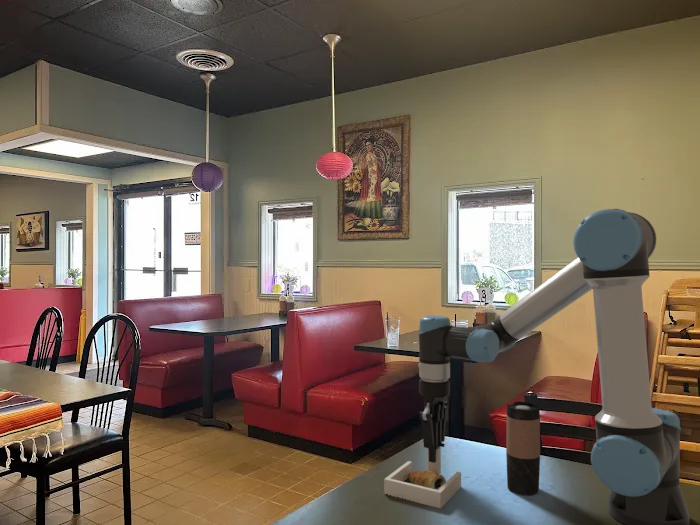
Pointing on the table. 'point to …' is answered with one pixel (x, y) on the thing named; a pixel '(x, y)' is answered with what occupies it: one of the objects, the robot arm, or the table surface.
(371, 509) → the table surface
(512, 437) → the travel mug
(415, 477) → the pastry
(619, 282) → the robot arm
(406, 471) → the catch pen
